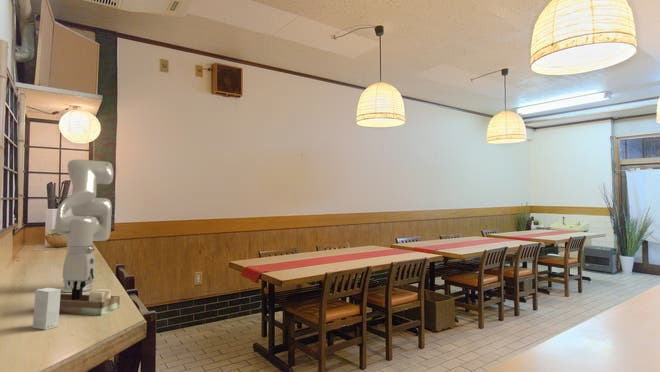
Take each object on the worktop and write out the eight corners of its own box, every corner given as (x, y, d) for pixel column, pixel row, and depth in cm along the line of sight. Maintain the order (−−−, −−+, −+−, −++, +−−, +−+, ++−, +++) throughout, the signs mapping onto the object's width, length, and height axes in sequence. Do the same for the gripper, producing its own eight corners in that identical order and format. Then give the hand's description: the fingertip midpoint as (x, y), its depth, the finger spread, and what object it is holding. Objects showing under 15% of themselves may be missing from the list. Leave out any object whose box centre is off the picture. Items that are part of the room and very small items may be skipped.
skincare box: (58, 326, 122) (61, 289, 123) (44, 330, 118) (48, 291, 119) (45, 324, 124) (48, 287, 125) (31, 327, 120) (34, 289, 121)
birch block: (97, 302, 143) (98, 289, 143) (110, 303, 143) (111, 289, 143) (88, 306, 138) (89, 292, 138) (101, 306, 138) (102, 292, 138)
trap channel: (56, 305, 147) (57, 293, 147) (118, 308, 146) (119, 296, 146) (34, 312, 137) (35, 299, 137) (101, 315, 135) (102, 302, 135)
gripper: (105, 250, 146) (102, 298, 145) (68, 248, 147) (65, 295, 146) (92, 252, 139) (88, 303, 138) (53, 250, 139) (49, 300, 138)
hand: (76, 299), depth 142 cm, fingers closed
